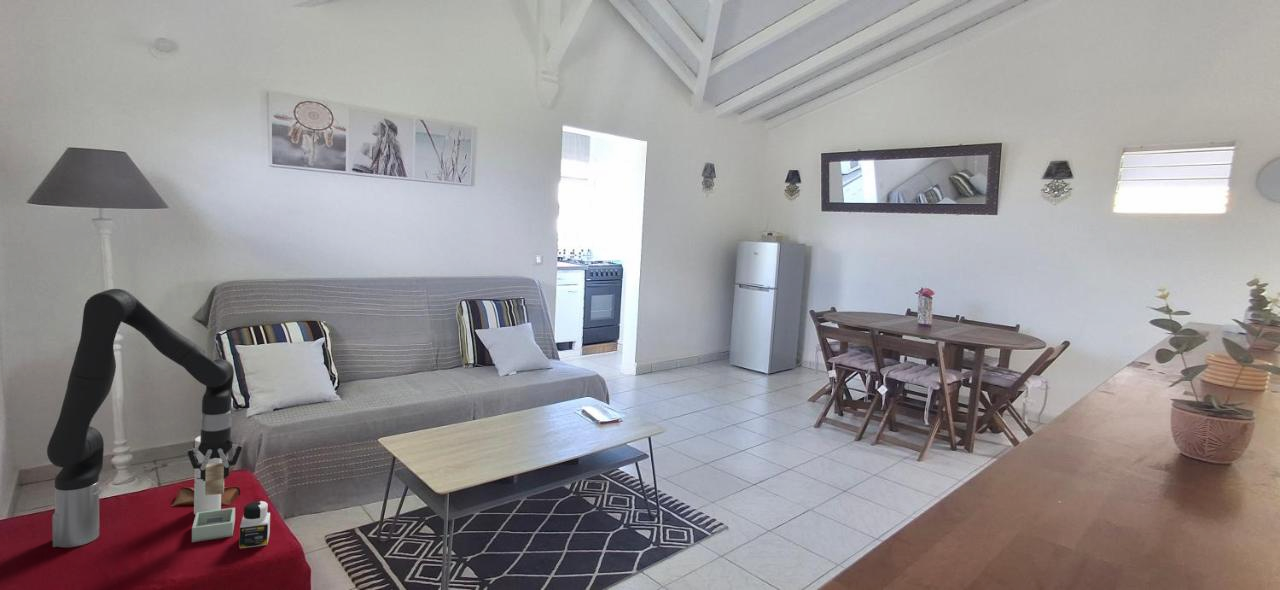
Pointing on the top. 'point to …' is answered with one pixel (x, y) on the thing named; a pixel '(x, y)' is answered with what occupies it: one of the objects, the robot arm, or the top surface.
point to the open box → (213, 524)
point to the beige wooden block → (214, 479)
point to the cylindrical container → (200, 499)
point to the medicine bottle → (255, 525)
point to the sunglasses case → (187, 496)
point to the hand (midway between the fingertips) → (215, 478)
